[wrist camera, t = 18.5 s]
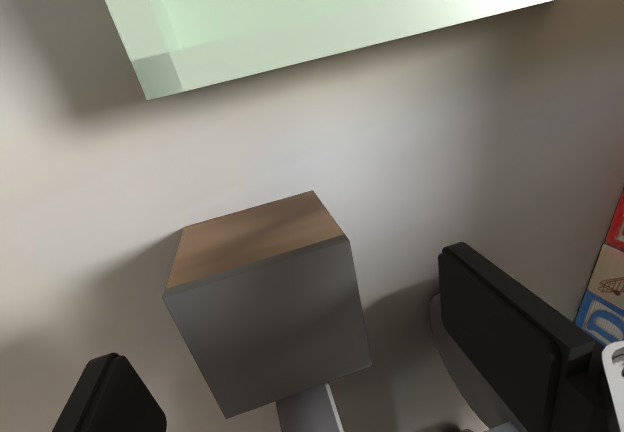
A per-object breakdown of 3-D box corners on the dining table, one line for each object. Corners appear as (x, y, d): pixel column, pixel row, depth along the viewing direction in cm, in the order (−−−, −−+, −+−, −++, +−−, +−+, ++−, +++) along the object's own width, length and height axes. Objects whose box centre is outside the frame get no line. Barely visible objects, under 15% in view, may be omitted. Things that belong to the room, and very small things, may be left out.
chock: (312, 189, 13) (349, 240, 9) (334, 288, 15) (372, 365, 11) (184, 225, 12) (162, 298, 8) (227, 324, 14) (226, 418, 10)
